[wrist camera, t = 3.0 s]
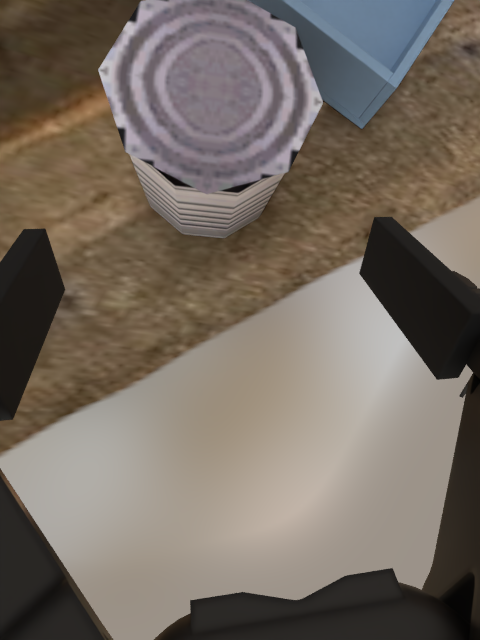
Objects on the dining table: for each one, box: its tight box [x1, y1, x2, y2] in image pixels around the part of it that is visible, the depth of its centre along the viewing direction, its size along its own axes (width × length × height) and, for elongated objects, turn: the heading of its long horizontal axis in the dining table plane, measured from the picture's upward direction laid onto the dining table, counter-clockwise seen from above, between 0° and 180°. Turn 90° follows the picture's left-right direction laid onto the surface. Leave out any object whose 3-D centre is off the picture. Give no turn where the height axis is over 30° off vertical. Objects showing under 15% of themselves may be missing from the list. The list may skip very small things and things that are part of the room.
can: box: [98, 0, 323, 238], centre depth 25 cm, size 11×11×12 cm
